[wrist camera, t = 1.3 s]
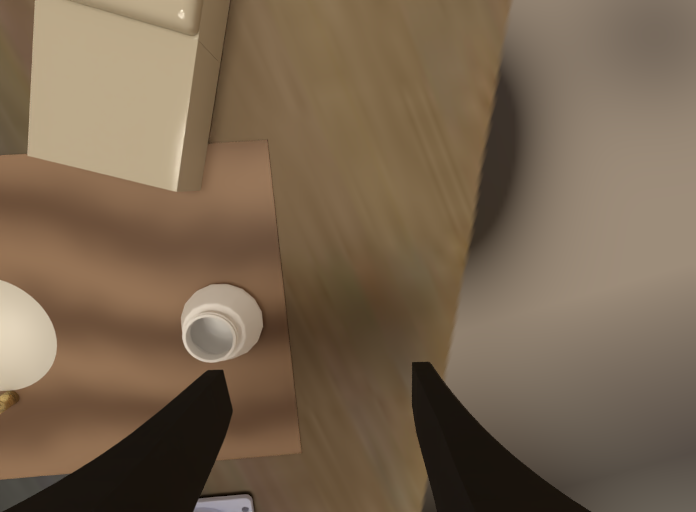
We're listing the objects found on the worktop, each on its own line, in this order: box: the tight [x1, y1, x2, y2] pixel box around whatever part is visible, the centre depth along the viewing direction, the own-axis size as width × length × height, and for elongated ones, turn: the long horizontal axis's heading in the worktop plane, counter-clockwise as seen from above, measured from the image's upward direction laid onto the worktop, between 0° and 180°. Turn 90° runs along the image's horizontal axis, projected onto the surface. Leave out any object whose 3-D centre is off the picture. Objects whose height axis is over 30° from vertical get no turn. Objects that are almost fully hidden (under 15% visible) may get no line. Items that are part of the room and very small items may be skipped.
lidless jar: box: [181, 284, 263, 363], centre depth 20 cm, size 5×3×5 cm
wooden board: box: [0, 140, 302, 480], centre depth 21 cm, size 22×28×2 cm
